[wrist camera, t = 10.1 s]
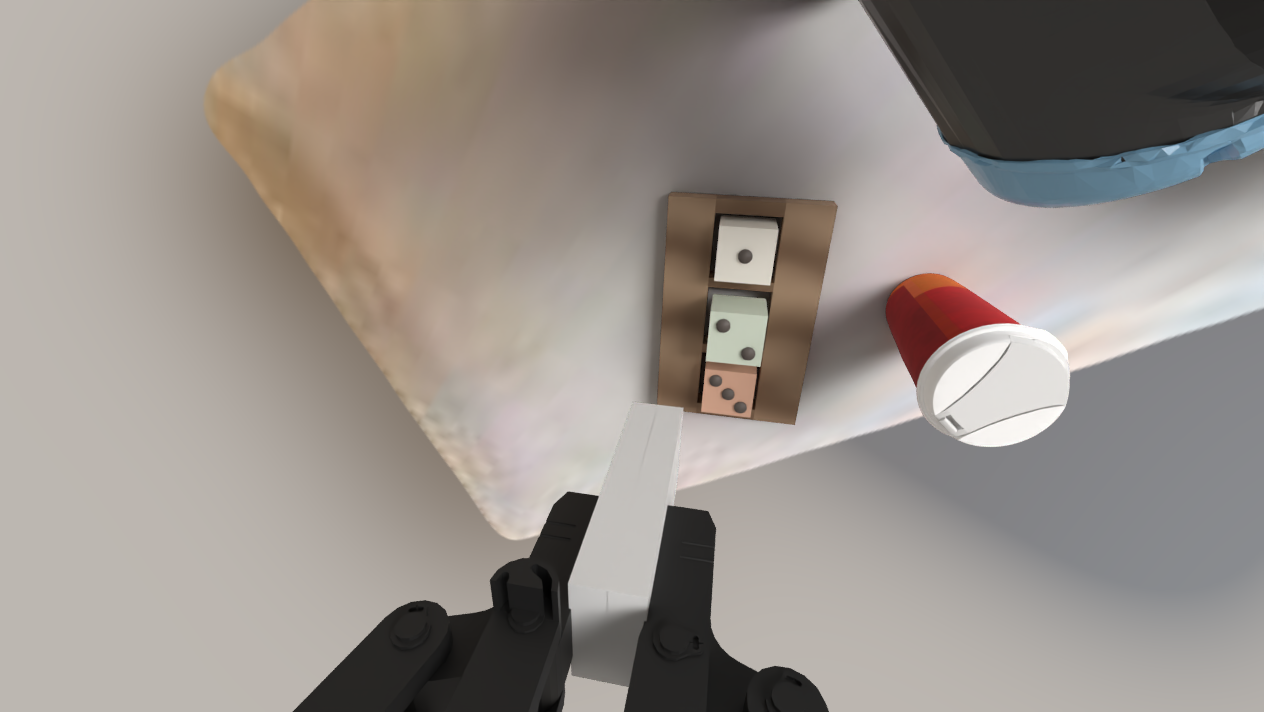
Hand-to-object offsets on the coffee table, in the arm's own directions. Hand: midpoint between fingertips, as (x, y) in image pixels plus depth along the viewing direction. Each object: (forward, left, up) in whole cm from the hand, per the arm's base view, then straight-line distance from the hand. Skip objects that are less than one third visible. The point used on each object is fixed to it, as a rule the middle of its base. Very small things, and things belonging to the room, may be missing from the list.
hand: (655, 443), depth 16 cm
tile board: (+8, +3, -32) cm, 34 cm away
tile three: (+14, +3, -32) cm, 35 cm away
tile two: (+8, +3, -30) cm, 31 cm away
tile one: (+2, +3, -32) cm, 32 cm away
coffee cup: (+6, +18, -33) cm, 38 cm away
